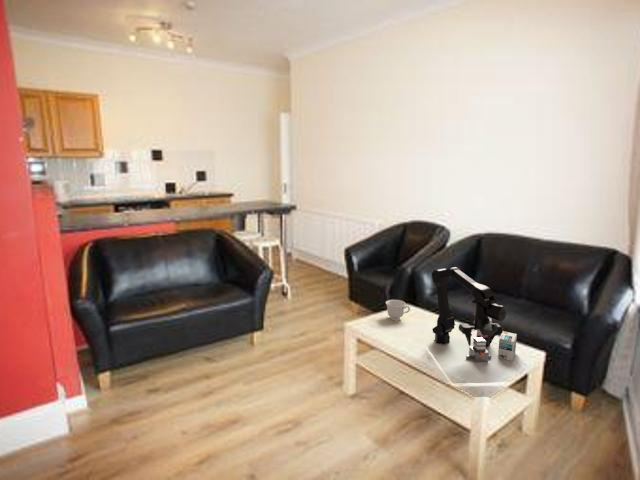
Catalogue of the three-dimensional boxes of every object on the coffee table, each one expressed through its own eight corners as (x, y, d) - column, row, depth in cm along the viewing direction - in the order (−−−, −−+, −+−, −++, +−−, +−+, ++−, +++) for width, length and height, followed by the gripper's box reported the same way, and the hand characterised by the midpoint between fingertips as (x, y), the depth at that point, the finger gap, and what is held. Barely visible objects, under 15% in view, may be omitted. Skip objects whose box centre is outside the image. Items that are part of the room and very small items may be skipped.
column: (475, 360, 185) (477, 341, 183) (472, 356, 189) (473, 337, 187) (484, 360, 185) (486, 341, 183) (480, 356, 189) (482, 337, 187)
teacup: (405, 325, 229) (406, 308, 227) (381, 319, 237) (382, 304, 235) (412, 318, 239) (413, 302, 237) (390, 313, 247) (390, 298, 245)
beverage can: (492, 348, 199) (494, 320, 197) (479, 349, 199) (481, 321, 196) (485, 343, 206) (488, 315, 203) (473, 343, 205) (475, 316, 202)
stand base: (470, 367, 181) (471, 355, 180) (460, 355, 193) (461, 343, 192) (496, 367, 182) (497, 354, 181) (484, 354, 193) (485, 343, 192)
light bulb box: (512, 363, 185) (514, 341, 183) (497, 359, 188) (498, 338, 186) (515, 354, 194) (517, 333, 192) (500, 350, 197) (502, 330, 195)
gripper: (468, 321, 175) (466, 354, 178) (510, 320, 175) (507, 353, 178) (459, 311, 186) (457, 342, 189) (498, 311, 186) (495, 342, 189)
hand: (479, 345), depth 186 cm, fingers open, 9 cm apart
